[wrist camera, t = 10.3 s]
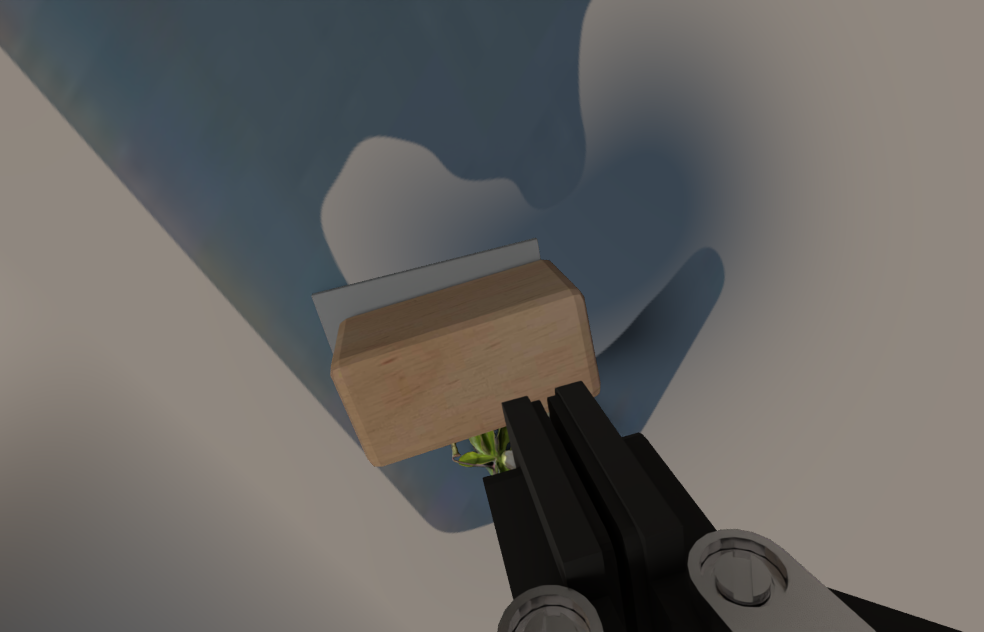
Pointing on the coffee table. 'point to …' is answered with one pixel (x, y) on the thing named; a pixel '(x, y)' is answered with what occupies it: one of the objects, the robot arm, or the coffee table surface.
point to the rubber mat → (416, 283)
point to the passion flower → (488, 452)
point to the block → (460, 359)
